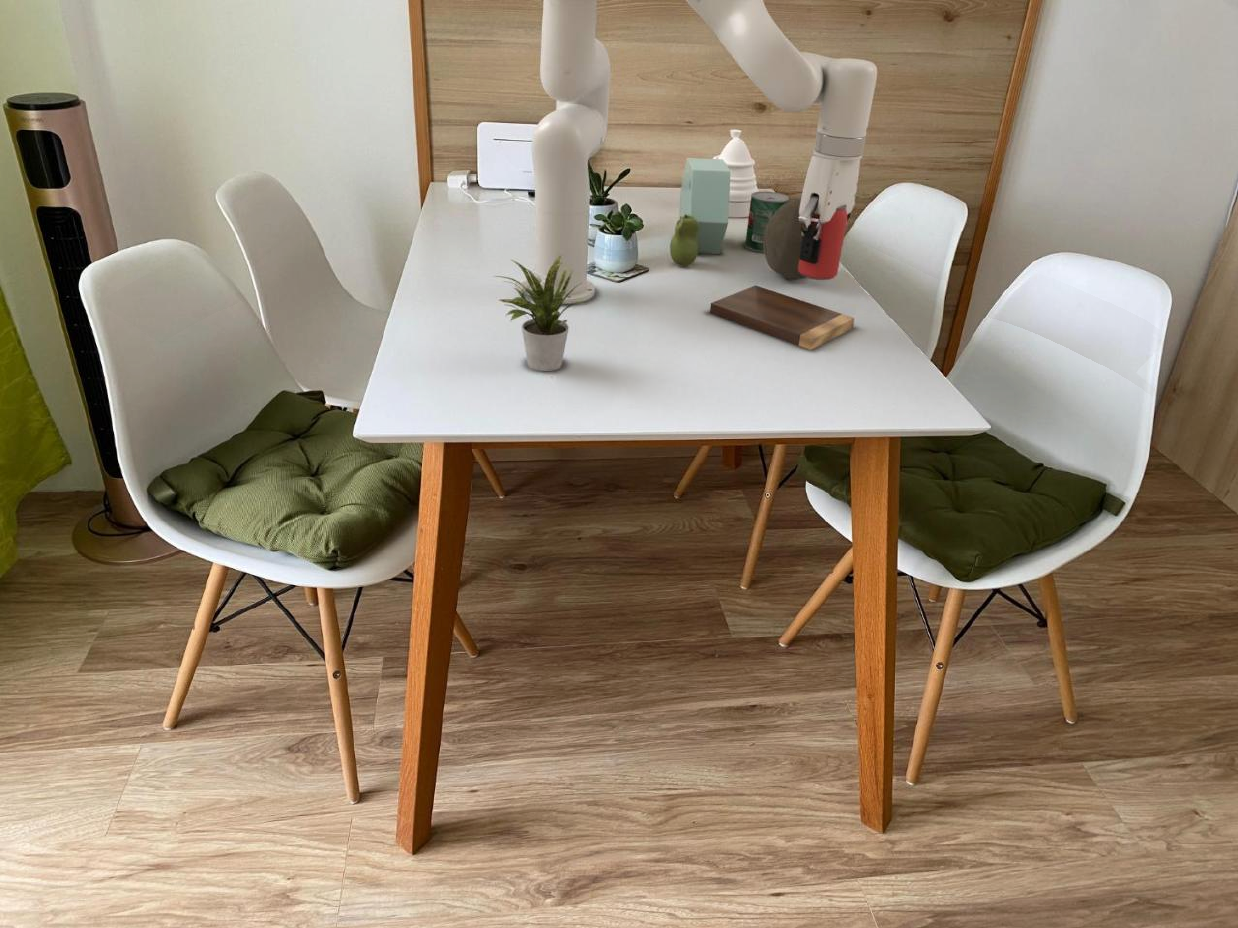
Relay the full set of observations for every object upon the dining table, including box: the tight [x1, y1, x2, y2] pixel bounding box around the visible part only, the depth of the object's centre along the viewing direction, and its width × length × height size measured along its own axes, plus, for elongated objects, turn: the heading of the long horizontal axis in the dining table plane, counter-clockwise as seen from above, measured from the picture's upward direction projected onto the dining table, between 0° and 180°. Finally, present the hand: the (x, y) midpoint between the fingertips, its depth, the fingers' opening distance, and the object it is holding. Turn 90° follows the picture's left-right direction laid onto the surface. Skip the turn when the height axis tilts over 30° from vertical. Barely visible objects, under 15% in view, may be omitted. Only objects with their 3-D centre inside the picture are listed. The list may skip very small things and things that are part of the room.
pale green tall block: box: [678, 157, 730, 255], centre depth 190 cm, size 17×8×21 cm
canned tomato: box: [744, 190, 790, 254], centre depth 194 cm, size 8×8×11 cm
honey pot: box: [712, 129, 759, 218], centre depth 216 cm, size 13×13×18 cm
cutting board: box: [709, 285, 856, 351], centre depth 160 cm, size 14×21×2 cm, turn 48°
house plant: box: [494, 256, 586, 372], centre depth 137 cm, size 14×14×16 cm
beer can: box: [798, 205, 848, 281], centre depth 149 cm, size 7×7×12 cm
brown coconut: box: [763, 198, 807, 281], centre depth 177 cm, size 14×14×15 cm
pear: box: [669, 214, 699, 267], centre depth 181 cm, size 6×5×10 cm
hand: (820, 256), depth 151 cm, fingers closed on beer can, 6 cm apart
